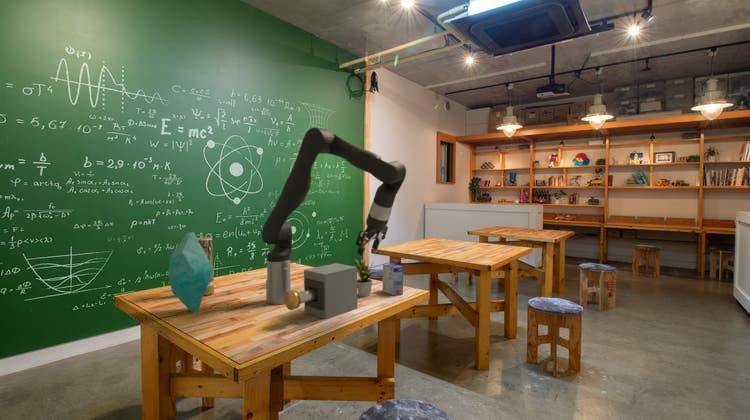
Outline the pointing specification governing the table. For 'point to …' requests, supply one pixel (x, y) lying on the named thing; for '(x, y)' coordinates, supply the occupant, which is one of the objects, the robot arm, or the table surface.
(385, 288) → the ink cartridge box
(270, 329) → the table surface
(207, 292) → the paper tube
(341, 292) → the housing
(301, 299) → the peg
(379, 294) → the table surface
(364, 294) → the house plant
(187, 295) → the crystal
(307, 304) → the collar
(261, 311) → the table surface
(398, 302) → the table surface
